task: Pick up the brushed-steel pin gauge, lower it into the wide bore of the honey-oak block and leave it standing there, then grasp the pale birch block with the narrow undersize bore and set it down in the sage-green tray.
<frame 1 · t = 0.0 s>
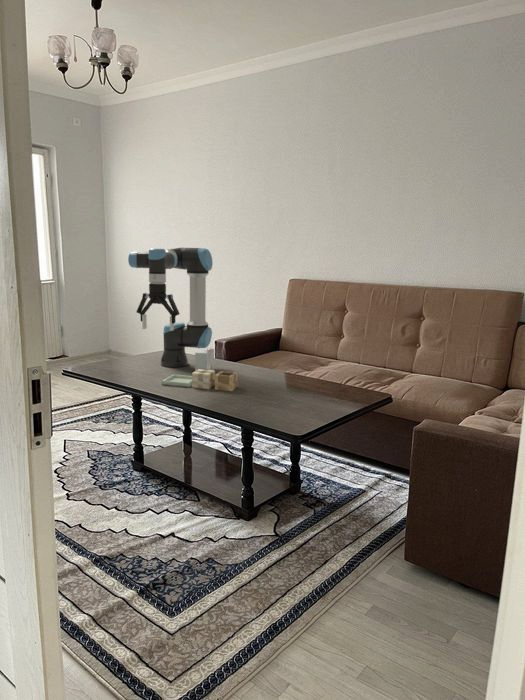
hand: (158, 329, 249), 28 cm above the table, fingers open, 13 cm apart
tray: (180, 382, 266), on the table
pin gauge: (210, 380, 272), on the table
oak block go: (226, 388, 258), on the table
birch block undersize: (203, 385, 261), on the table
supplement box: (203, 375, 282), on the table
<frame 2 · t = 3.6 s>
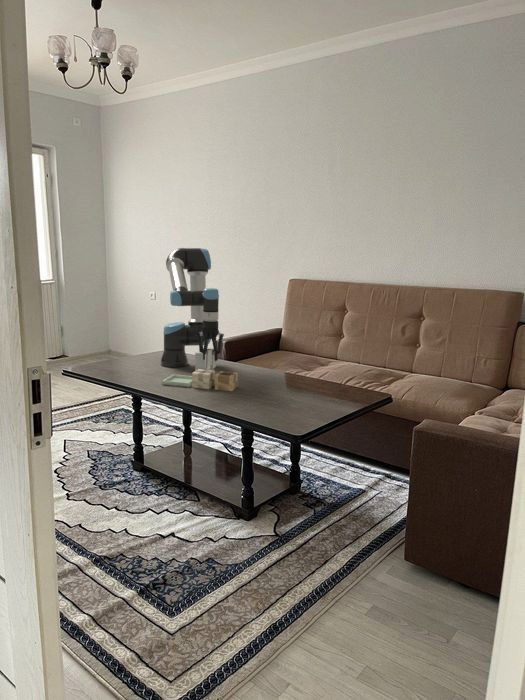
hand: (210, 366, 270), 7 cm above the table, fingers closed on pin gauge, 3 cm apart
pin gauge: (210, 380, 272), on the table, touching gripper
everything else where it was.
when the fingers open (9 cm above the table, at t = 9.4 s): pin gauge drops 2 cm, resting in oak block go.
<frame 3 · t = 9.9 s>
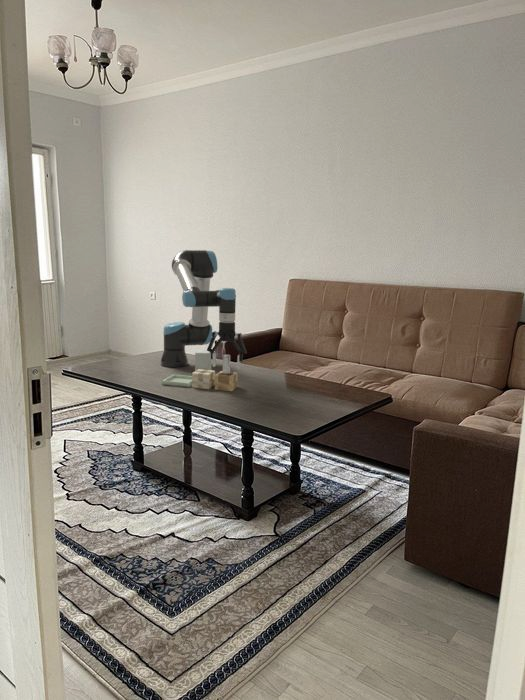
hand: (226, 367, 256), 10 cm above the table, fingers open, 11 cm apart
pin gauge: (226, 388, 258), resting in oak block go
everything else where it was.
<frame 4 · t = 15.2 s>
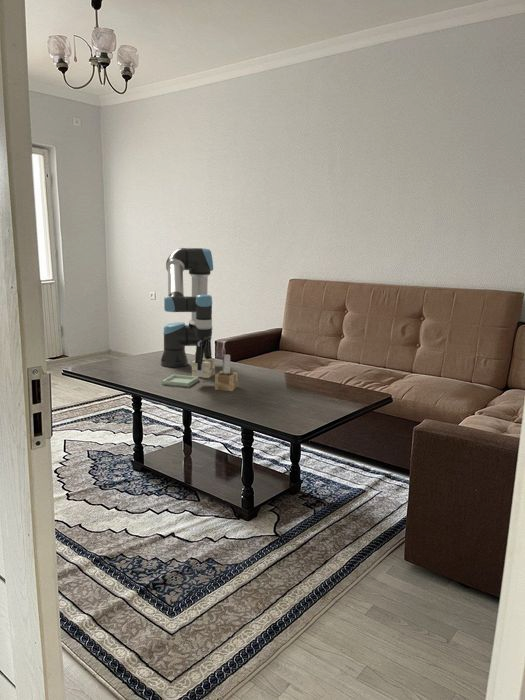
hand: (203, 374, 261), 6 cm above the table, fingers closed on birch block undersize, 8 cm apart
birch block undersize: (203, 374, 261), point 5 cm above the table, touching gripper
everything else where it was.
when the fingers open (3 cm above the table, at t = 19.8 s): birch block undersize drops 2 cm, resting on tray.
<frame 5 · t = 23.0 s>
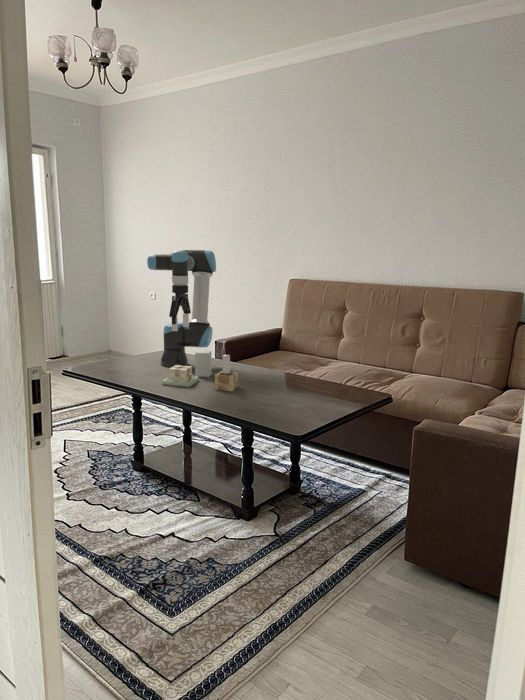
hand: (180, 328, 261), 27 cm above the table, fingers open, 13 cm apart
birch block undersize: (180, 381, 266), point 1 cm above the table, touching tray
everything else where it was.
at the end: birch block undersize inside the target area on the tray (0.1 cm from its centre), point 0.6 cm above the tray's base; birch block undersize tilted 0°; pin gauge 0.0 cm from the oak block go (horizontally) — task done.
